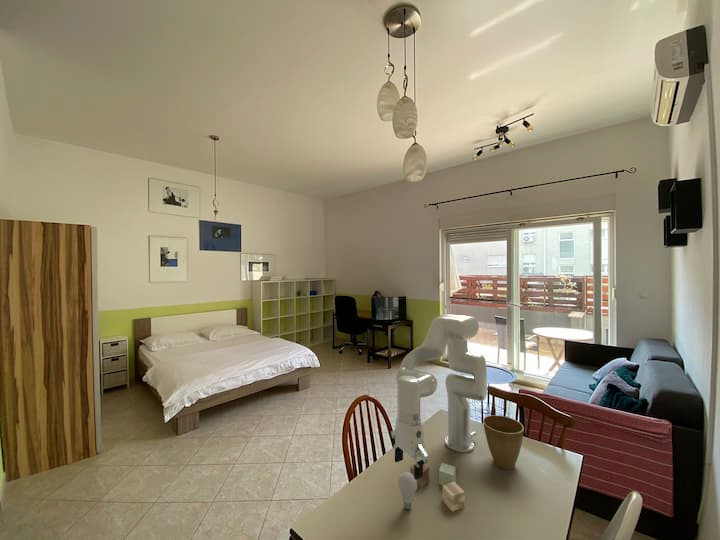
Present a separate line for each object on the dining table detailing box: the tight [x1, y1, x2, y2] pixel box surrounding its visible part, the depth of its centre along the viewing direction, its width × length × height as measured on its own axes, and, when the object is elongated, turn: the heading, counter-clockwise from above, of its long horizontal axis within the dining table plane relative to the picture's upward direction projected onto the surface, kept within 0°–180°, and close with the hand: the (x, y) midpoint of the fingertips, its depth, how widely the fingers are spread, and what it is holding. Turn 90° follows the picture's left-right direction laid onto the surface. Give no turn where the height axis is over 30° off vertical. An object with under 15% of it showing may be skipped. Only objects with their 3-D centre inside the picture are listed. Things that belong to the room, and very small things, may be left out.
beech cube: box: [441, 481, 466, 512], centre depth 96 cm, size 5×5×5 cm
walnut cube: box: [409, 460, 430, 488], centre depth 107 cm, size 5×5×5 cm
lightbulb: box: [397, 471, 418, 510], centre depth 94 cm, size 6×6×11 cm
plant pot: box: [482, 414, 525, 470], centre depth 117 cm, size 15×15×16 cm
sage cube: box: [438, 462, 457, 486], centre depth 106 cm, size 5×5×5 cm
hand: (408, 468), depth 94 cm, fingers open, 9 cm apart
